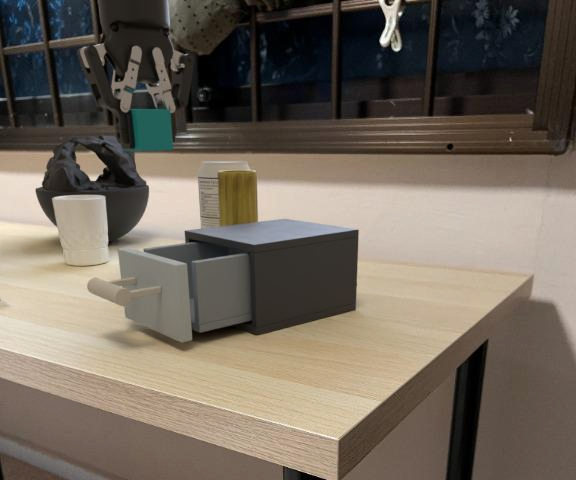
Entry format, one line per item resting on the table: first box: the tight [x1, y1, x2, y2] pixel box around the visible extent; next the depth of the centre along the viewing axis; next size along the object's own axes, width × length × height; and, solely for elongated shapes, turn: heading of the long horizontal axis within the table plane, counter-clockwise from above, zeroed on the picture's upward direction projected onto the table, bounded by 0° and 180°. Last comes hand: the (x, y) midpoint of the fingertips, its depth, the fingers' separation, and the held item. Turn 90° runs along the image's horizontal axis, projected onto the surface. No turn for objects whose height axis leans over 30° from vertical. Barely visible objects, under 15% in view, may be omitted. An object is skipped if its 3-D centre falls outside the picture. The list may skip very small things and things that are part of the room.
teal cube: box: [122, 108, 174, 152], centre depth 72 cm, size 4×4×4 cm
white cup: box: [52, 195, 110, 267], centre depth 96 cm, size 8×8×10 cm
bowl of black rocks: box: [34, 134, 150, 242], centre depth 112 cm, size 20×20×19 cm
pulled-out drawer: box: [86, 241, 252, 344], centre depth 62 cm, size 18×11×7 cm, turn 131°
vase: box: [217, 169, 259, 226], centre depth 85 cm, size 6×6×14 cm
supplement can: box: [197, 160, 251, 229], centre depth 94 cm, size 8×8×15 cm
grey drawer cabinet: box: [184, 218, 360, 336], centre depth 69 cm, size 15×13×9 cm
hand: (147, 147), depth 72 cm, fingers closed on teal cube, 4 cm apart
